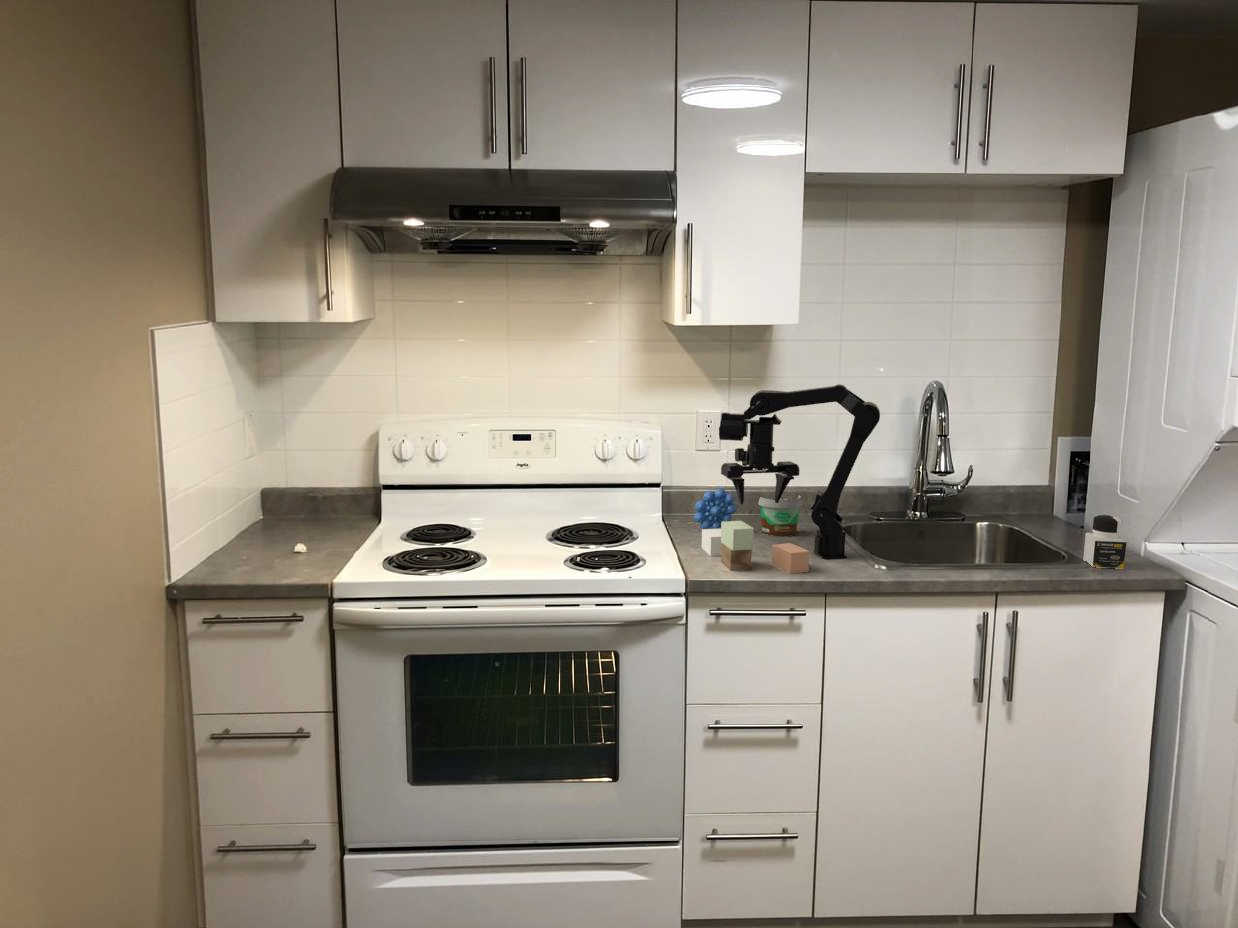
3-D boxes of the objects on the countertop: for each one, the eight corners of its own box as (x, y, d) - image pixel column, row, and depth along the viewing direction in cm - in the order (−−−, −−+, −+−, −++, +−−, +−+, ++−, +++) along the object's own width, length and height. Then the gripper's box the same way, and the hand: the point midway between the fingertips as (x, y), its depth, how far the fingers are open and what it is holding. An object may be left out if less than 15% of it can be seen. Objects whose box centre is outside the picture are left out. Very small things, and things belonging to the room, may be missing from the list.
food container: (766, 538, 259) (767, 501, 257) (757, 533, 265) (758, 496, 263) (809, 536, 262) (810, 499, 261) (798, 530, 268) (800, 494, 266)
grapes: (734, 528, 270) (735, 485, 268) (737, 534, 264) (738, 490, 262) (692, 527, 270) (693, 484, 268) (694, 533, 264) (695, 489, 262)
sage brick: (740, 540, 237) (740, 520, 236) (753, 549, 229) (753, 528, 228) (720, 541, 236) (721, 521, 235) (732, 550, 228) (733, 529, 227)
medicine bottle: (1092, 568, 234) (1097, 519, 232) (1082, 560, 241) (1087, 512, 239) (1124, 569, 233) (1129, 520, 231) (1113, 561, 240) (1118, 513, 238)
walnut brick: (740, 561, 238) (741, 541, 237) (750, 570, 230) (751, 549, 229) (720, 561, 237) (721, 541, 236) (730, 571, 229) (731, 550, 228)
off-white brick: (720, 547, 250) (721, 528, 249) (730, 555, 242) (730, 536, 242) (701, 548, 249) (702, 529, 248) (710, 556, 241) (711, 536, 241)
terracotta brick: (789, 563, 236) (790, 542, 235) (808, 571, 229) (809, 551, 228) (771, 565, 234) (772, 544, 234) (790, 574, 227) (790, 553, 226)
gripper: (784, 436, 252) (782, 495, 255) (715, 437, 249) (713, 498, 251) (801, 442, 242) (798, 504, 244) (729, 444, 238) (727, 507, 241)
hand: (759, 503), depth 245 cm, fingers open, 9 cm apart
